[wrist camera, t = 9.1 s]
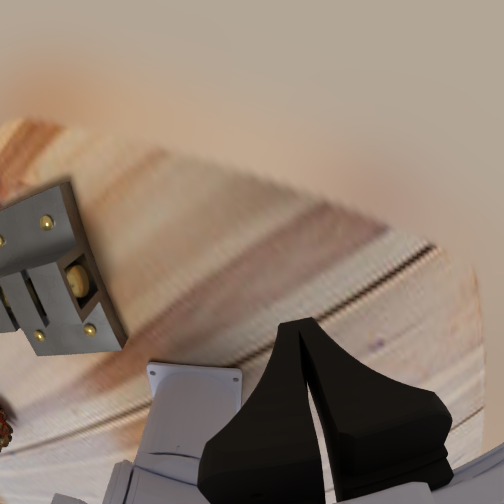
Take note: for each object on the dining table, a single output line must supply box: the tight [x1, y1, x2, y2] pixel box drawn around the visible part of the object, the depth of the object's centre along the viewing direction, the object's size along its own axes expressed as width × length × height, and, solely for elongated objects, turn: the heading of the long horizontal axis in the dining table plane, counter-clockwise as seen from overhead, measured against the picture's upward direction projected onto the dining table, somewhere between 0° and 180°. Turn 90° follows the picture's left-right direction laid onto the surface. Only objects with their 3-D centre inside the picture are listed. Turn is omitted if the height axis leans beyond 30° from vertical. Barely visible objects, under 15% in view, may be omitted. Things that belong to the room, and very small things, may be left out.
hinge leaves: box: [0, 182, 128, 356], centre depth 20 cm, size 13×10×4 cm
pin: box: [0, 265, 89, 310], centre depth 19 cm, size 3×11×3 cm, turn 102°
